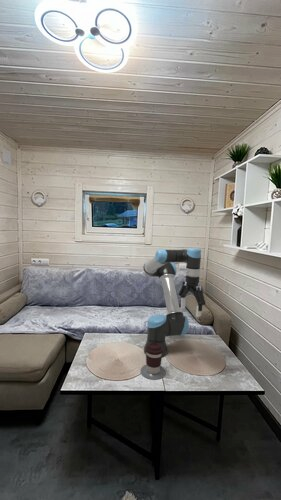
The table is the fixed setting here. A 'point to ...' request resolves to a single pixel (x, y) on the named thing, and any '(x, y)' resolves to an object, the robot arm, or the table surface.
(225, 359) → the table surface
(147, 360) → the coffee cup
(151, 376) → the coaster
